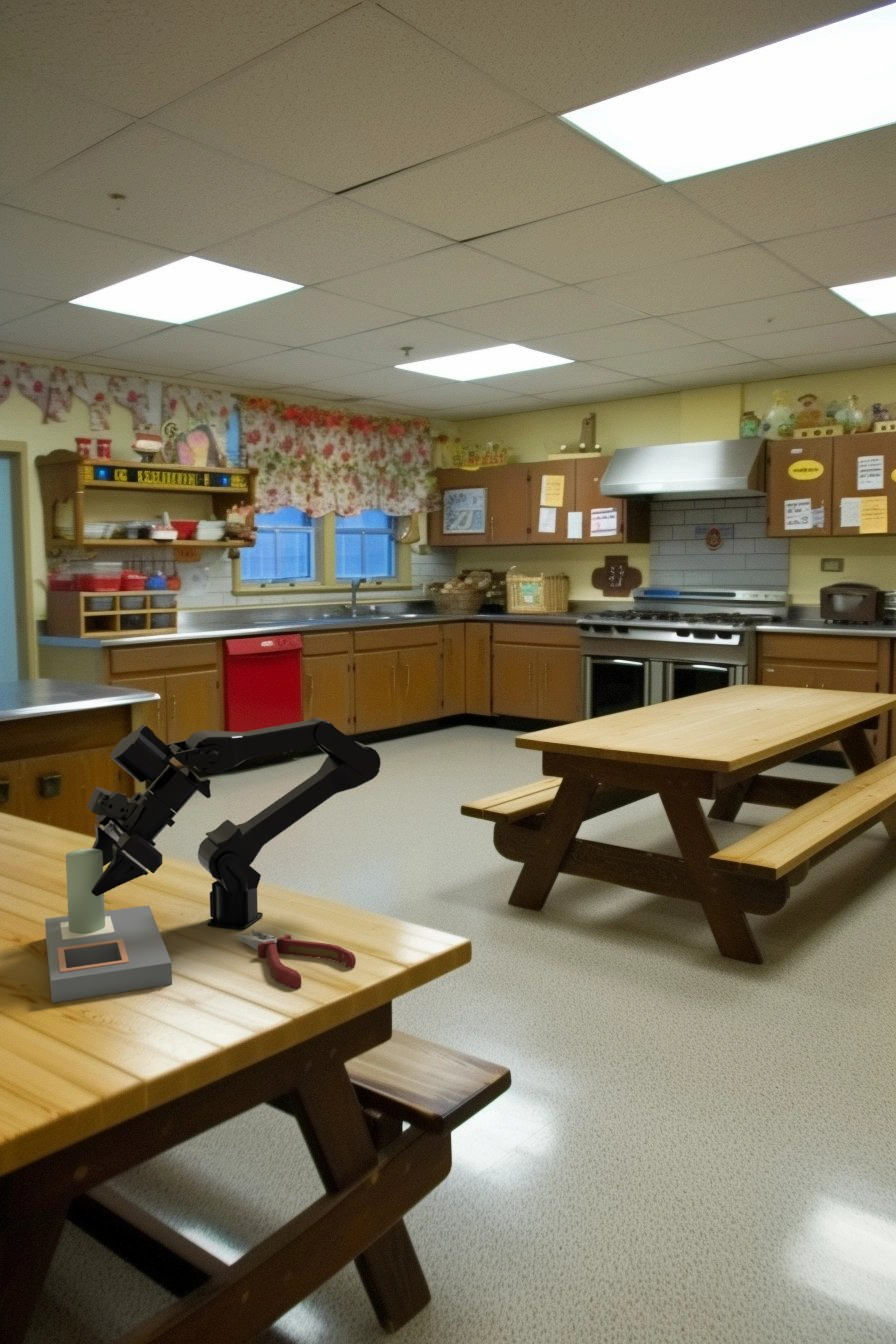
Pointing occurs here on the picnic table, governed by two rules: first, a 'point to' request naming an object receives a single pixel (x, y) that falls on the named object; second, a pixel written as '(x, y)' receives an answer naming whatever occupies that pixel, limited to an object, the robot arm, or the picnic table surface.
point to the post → (84, 891)
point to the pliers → (286, 945)
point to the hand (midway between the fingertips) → (87, 885)
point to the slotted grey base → (107, 956)
